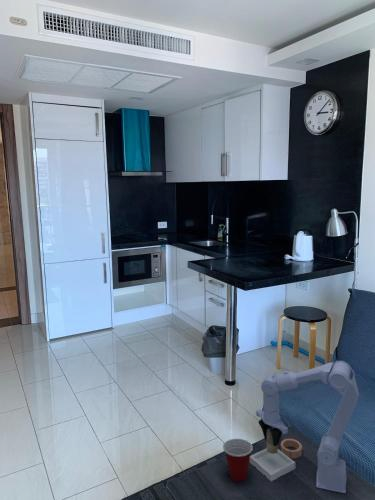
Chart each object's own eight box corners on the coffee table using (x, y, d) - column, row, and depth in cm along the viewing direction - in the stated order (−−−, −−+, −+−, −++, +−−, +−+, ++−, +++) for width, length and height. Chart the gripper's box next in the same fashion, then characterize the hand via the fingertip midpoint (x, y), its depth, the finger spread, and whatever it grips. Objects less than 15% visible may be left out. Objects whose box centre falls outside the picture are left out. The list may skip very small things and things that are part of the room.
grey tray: (273, 450, 151) (272, 445, 151) (295, 468, 141) (295, 462, 140) (249, 462, 145) (249, 456, 145) (271, 481, 135) (271, 475, 134)
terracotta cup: (302, 446, 153) (302, 440, 152) (301, 460, 145) (301, 453, 145) (282, 443, 155) (282, 437, 155) (279, 456, 148) (279, 449, 147)
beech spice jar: (278, 447, 144) (278, 425, 142) (277, 454, 140) (277, 431, 139) (267, 446, 145) (267, 424, 144) (266, 452, 141) (266, 430, 140)
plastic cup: (250, 464, 144) (249, 435, 142) (256, 486, 133) (255, 454, 131) (222, 466, 144) (221, 437, 142) (225, 487, 133) (224, 456, 131)
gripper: (293, 413, 136) (293, 448, 138) (265, 396, 148) (266, 428, 150) (279, 419, 132) (279, 455, 134) (251, 402, 144) (252, 434, 146)
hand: (271, 441), depth 142 cm, fingers closed on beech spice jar, 4 cm apart
